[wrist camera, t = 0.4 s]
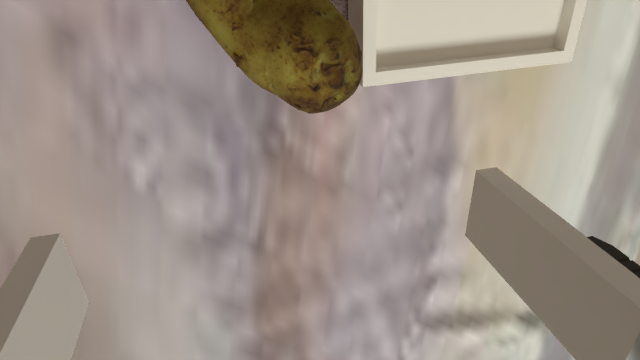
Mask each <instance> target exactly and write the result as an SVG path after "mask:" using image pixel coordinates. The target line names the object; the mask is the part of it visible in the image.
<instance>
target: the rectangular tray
mask: <svg viewBox="0 0 640 360" xmlns="http://www.w3.org/2000/svg"><path fill="white" fill-rule="evenodd" d="M586 3H587V0H348V22H349V23H350V25H351V26H352V28H353V30H354V32H355V34H356V37H357V40H358V43H359V46H360V49H361V52H362V78H361V81H360V85H361V86H362V87H368V86H376V85H384V84H393V83H401V82H409V81H417V80H426V79H434V78H442V77H451V76H459V75H467V74H476V73H484V72H492V71H500V70H509V69H517V68H525V67H534V66H542V65H550V64H559V63H567V62H572V58H573V54H574V50H575V46H576V42H577V38H578V35H579V31H580V27H581V23H582V19H583V15H584V11H585V7H586Z"/></svg>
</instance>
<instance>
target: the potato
mask: <svg viewBox="0 0 640 360" xmlns="http://www.w3.org/2000/svg"><path fill="white" fill-rule="evenodd" d="M186 1H187V3H188V4H189V6H190V7H191V9H192V10H193V11H194V13H195V15H196V16H197V17H198V18H199V20H200V21H201V22H202V23H203V24H204V25H205V27H206V28H207V29H208V30H209V32H210V33H211V34H212V35H213V37H214V38H215V39H216V41H217V42H218V43H219V44H220V45H221V47H222V48H223V49H224V50H225V51H226V53H227V54H228V55H229V56H230V57H231V58H232V60H233V61H234V62H235V63H236V65H237V67H239V68H240V69H241V70H242V71H243V72H244V73H245V74H246V75H247V76H248V77H249V78H250V79H251V80H252V81H253V82H255V83H256V84H257V85H259V86H260V87H262V88H263V89H265V90H267V91H269V92H271V93H273V94H275V95H277V96H279V97H280V98H281V99H283V100H284V101H285V102H287V103H288V104H290V105H291V106H293V107H295V108H297V109H298V110H301V111H304V112H307V113H319V112H325V111H328V110H330V109H333V108H335V107H336V106H338V105H340V104H341V103H343V102H344V101H345V100H347V99H348V98H349V97H350V96H351V95H353V93H354V92H355V91H356V89H357V88H358V86H359V84H360V81H361V78H362V52H361V49H360V46H359V43H358V40H357V37H356V34H355V32H354V30H353V28H352V26H351V25H350V23H349V22H348V21H347V19H346V18H345V17H344V16H343V15H342V14H341V13H340V12H339V11H338V10H337V9H336V8H335V7H334V6H333V4H332V3H331V2H330V1H329V0H186Z"/></svg>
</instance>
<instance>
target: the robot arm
mask: <svg viewBox="0 0 640 360" xmlns="http://www.w3.org/2000/svg"><path fill="white" fill-rule="evenodd" d="M465 236H466V237H467V238H468V239H469V240H470V241H471V242H472V243H473V245H474V246H475V247H476V248H477V249H478V250H479V251H480V252H481V254H482V255H483V256H484V257H485V258H486V259H487V260H488V261H489V263H490V264H491V265H492V266H493V267H494V268H495V269H496V270H497V272H498V273H499V274H500V275H501V276H502V277H503V278H504V279H505V281H506V282H507V283H508V284H509V285H510V286H511V287H512V288H513V290H514V291H515V292H516V293H517V294H518V295H519V296H520V297H521V299H522V300H523V301H524V302H525V303H526V304H527V305H528V306H529V308H530V309H531V310H532V311H533V312H534V313H535V314H536V315H537V317H538V318H539V319H540V320H541V321H542V322H543V323H544V324H545V326H546V327H547V328H548V329H549V330H550V331H551V332H552V334H553V335H554V336H555V337H556V338H557V339H558V340H559V341H560V343H561V344H562V345H563V346H564V347H565V348H566V349H567V350H568V352H569V353H570V354H571V355H572V356H573V357H574V358H575V359H576V360H640V266H639V265H638V264H636V263H635V262H634V261H633V260H632V261H630V260H629V257H627V256H626V255H625V254H623V253H622V252H621V251H619V250H618V249H616V248H615V247H614V246H612V245H610V244H608V243H606V242H604V241H602V240H599V239H597V238H595V237H593V236H591V237H586V236H584V235H583V234H582V233H581V232H579V231H578V230H577V229H575V228H574V227H573V226H571V225H570V224H569V223H568V222H566V221H565V220H564V219H562V218H561V217H560V216H559V215H557V214H556V213H555V212H553V211H552V210H551V209H549V208H548V207H547V206H546V205H544V204H543V203H542V202H540V201H539V200H538V199H537V198H535V197H534V196H533V195H531V194H530V193H529V192H527V191H526V190H525V189H524V188H522V187H521V186H520V185H518V184H517V183H516V182H515V181H513V180H512V179H511V178H509V177H508V176H507V175H505V174H504V173H503V172H502V171H500V170H499V169H498V168H496V167H495V168H489V169H482V170H476V174H475V180H474V186H473V192H472V198H471V204H470V210H469V216H468V222H467V228H466V234H465ZM88 306H89V302H88V299H87V297H86V295H85V292H84V290H83V287H82V285H81V283H80V280H79V278H78V275H77V273H76V270H75V268H74V266H73V263H72V261H71V258H70V256H69V254H68V251H67V249H66V246H65V244H64V242H63V239H62V237H61V234H60V233H59V234H53V235H46V236H40V237H33V238H30V240H29V241H28V243H27V245H26V247H25V248H24V250H23V252H22V253H21V255H20V257H19V258H18V260H17V262H16V263H15V265H14V267H13V268H12V270H11V272H10V274H9V275H8V277H7V279H6V280H5V282H4V284H3V285H2V287H1V289H0V360H71V358H72V355H73V352H74V349H75V346H76V343H77V340H78V337H79V333H80V330H81V327H82V324H83V321H84V318H85V315H86V312H87V309H88Z"/></svg>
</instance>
